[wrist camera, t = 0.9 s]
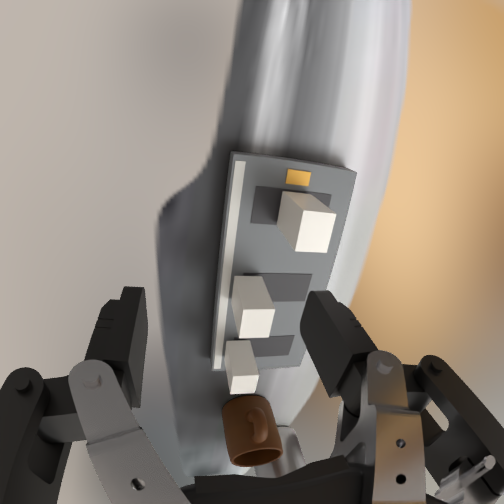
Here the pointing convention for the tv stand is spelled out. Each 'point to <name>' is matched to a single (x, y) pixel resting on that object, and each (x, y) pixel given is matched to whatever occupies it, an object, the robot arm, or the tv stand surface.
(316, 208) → the block
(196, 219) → the tv stand surface
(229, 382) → the breaker
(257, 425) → the mug
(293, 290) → the breaker panel
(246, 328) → the block
